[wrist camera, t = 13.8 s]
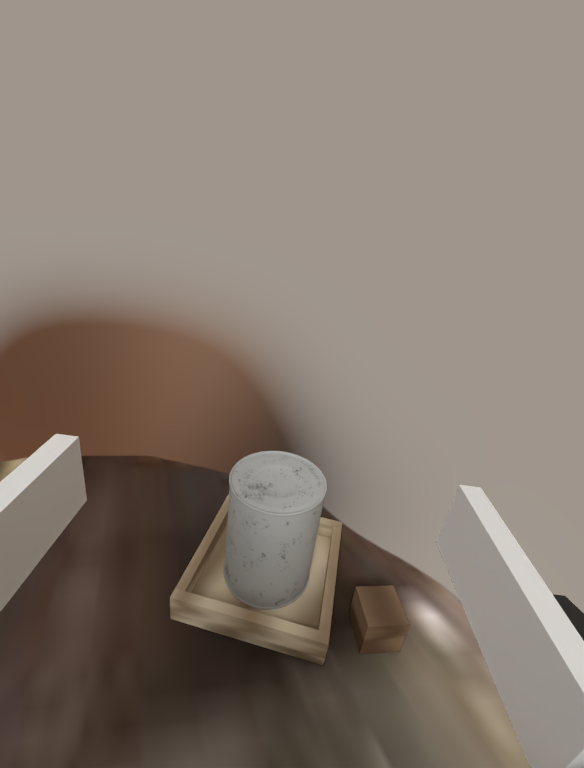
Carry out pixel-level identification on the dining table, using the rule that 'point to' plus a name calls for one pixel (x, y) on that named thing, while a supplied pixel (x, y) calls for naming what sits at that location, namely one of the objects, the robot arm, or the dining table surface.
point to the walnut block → (378, 619)
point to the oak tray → (256, 626)
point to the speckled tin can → (272, 527)
